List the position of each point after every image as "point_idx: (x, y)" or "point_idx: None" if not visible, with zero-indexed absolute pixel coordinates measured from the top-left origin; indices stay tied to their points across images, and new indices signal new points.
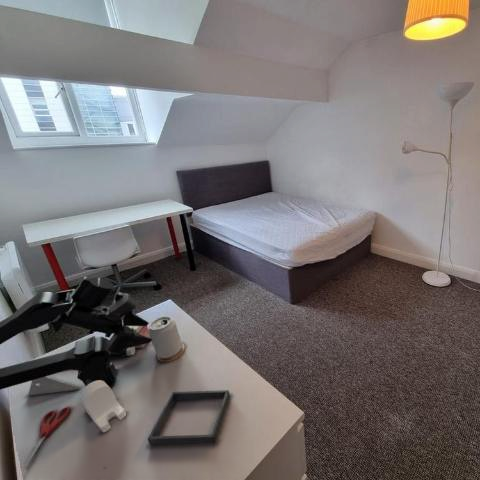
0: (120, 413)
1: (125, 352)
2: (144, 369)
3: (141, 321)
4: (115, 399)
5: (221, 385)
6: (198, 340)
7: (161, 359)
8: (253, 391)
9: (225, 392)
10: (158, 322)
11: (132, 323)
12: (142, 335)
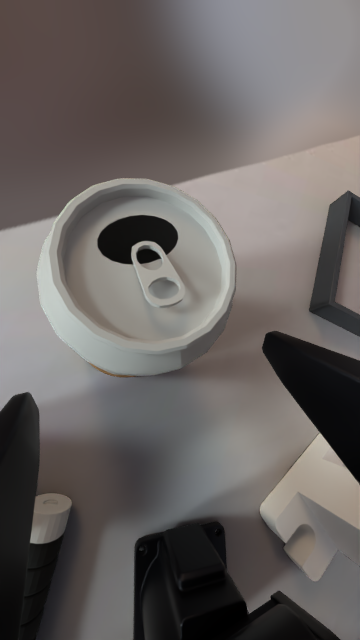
0: None
1: (56, 543)
2: (177, 416)
3: (11, 464)
4: (342, 468)
5: (301, 213)
6: None
7: None
8: (328, 166)
9: (350, 197)
10: (114, 284)
11: (8, 592)
12: (343, 369)
